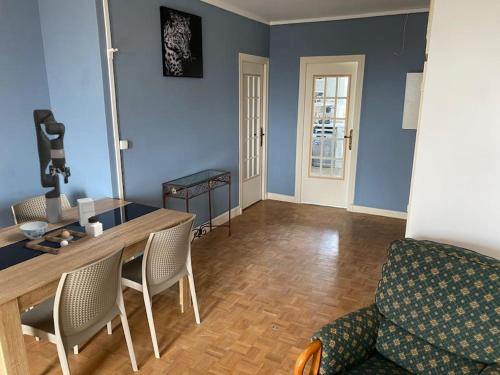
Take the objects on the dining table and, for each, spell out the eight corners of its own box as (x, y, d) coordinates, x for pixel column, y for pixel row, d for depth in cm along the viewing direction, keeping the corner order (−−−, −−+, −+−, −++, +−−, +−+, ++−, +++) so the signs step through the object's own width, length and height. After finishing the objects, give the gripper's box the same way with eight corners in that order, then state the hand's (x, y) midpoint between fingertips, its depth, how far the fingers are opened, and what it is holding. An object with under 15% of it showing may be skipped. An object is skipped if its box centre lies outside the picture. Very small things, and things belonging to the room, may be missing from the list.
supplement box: (93, 220, 262) (91, 197, 258) (96, 224, 255) (94, 200, 251) (78, 222, 257) (76, 199, 253) (80, 226, 250) (78, 202, 245)
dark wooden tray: (25, 247, 216) (25, 243, 215) (62, 232, 239) (62, 228, 239) (57, 254, 208) (57, 250, 207) (92, 238, 231) (92, 234, 231)
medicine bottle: (103, 233, 239) (101, 215, 236) (95, 237, 232) (93, 219, 229) (93, 232, 241) (92, 214, 238) (85, 235, 235) (84, 217, 232)
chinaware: (22, 234, 234) (21, 222, 232) (50, 231, 240) (48, 220, 238) (19, 243, 221) (17, 231, 219) (48, 240, 226) (46, 228, 225)
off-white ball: (59, 247, 216) (58, 241, 215) (64, 245, 220) (64, 238, 219) (64, 248, 215) (63, 242, 214) (70, 246, 218) (69, 239, 217)
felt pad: (55, 239, 227) (55, 239, 227) (66, 235, 235) (66, 234, 235) (65, 241, 225) (65, 241, 225) (76, 237, 232) (76, 236, 232)
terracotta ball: (60, 238, 228) (59, 231, 227) (66, 236, 232) (65, 229, 231) (65, 239, 227) (65, 233, 226) (71, 237, 231) (70, 230, 230)
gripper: (43, 156, 224) (46, 182, 228) (62, 158, 219) (64, 185, 223) (54, 154, 231) (57, 180, 235) (72, 156, 226) (74, 182, 230)
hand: (60, 182), depth 229 cm, fingers open, 8 cm apart
